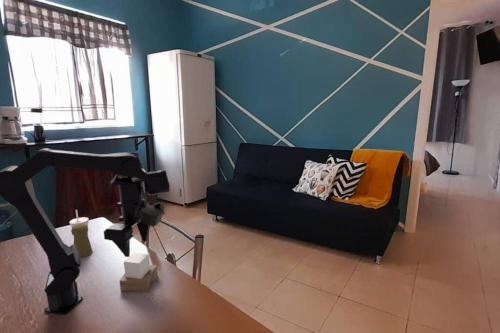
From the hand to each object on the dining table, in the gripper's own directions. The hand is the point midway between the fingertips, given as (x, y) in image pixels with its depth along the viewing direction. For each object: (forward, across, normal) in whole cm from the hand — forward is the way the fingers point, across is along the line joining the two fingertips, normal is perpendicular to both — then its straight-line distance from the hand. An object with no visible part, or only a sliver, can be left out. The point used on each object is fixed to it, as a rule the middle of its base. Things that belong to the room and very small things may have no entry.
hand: (136, 248), depth 83 cm
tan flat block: (+12, 0, 0) cm, 12 cm away
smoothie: (+12, +20, +36) cm, 43 cm away
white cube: (+8, 0, 0) cm, 8 cm away
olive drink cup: (+12, +13, +30) cm, 35 cm away
